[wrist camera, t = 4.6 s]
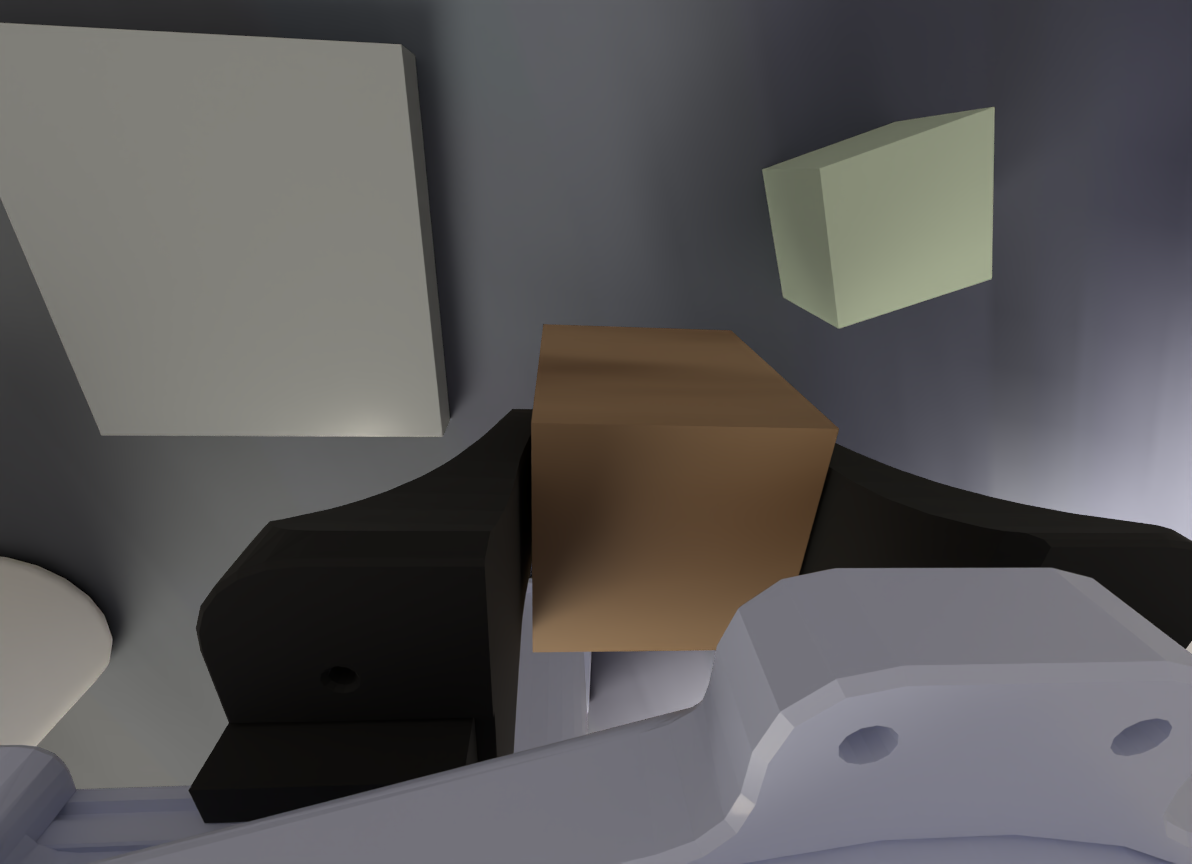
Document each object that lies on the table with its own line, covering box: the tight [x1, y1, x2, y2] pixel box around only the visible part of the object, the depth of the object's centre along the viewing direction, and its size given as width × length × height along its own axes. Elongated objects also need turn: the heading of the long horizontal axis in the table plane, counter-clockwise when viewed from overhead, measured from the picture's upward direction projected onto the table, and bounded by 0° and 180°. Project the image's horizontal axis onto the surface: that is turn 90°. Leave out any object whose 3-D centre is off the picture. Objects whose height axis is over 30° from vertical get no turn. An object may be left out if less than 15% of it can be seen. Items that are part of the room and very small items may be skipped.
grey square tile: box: [0, 23, 450, 437], centre depth 17 cm, size 12×12×2 cm
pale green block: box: [762, 107, 995, 329], centre depth 17 cm, size 4×4×4 cm
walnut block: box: [531, 324, 839, 652], centre depth 11 cm, size 4×4×6 cm
